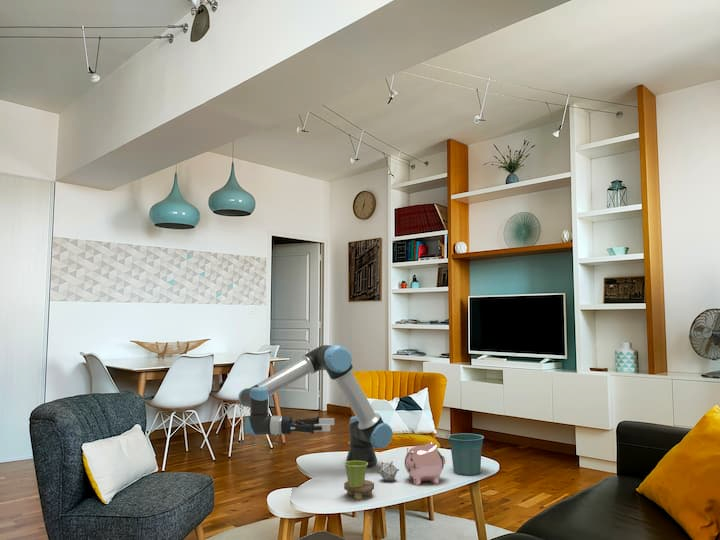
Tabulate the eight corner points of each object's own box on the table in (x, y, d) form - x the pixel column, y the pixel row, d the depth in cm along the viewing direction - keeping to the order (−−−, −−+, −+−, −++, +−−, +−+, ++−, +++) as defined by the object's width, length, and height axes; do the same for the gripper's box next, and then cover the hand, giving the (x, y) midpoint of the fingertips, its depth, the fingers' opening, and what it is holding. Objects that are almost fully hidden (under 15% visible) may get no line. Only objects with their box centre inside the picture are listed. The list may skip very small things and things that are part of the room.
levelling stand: (345, 490, 225) (345, 479, 225) (375, 491, 224) (374, 480, 224) (342, 500, 213) (342, 488, 213) (373, 500, 212) (373, 488, 212)
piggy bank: (451, 484, 234) (450, 445, 235) (410, 487, 230) (410, 448, 231) (438, 475, 248) (437, 438, 250) (400, 477, 245) (399, 440, 246)
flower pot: (447, 475, 247) (446, 439, 249) (450, 466, 263) (449, 432, 265) (484, 478, 243) (483, 440, 245) (485, 468, 259) (484, 433, 261)
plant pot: (352, 481, 223) (352, 459, 223) (372, 484, 217) (372, 462, 218) (339, 487, 215) (339, 464, 216) (359, 490, 210) (359, 467, 211)
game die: (391, 490, 238) (396, 475, 233) (373, 482, 239) (378, 467, 235) (397, 475, 245) (403, 460, 240) (380, 468, 247) (384, 452, 242)
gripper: (288, 428, 243) (335, 428, 242) (275, 440, 218) (328, 440, 217) (287, 411, 244) (335, 410, 242) (275, 421, 219) (328, 420, 217)
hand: (332, 424), depth 230 cm, fingers open, 13 cm apart
